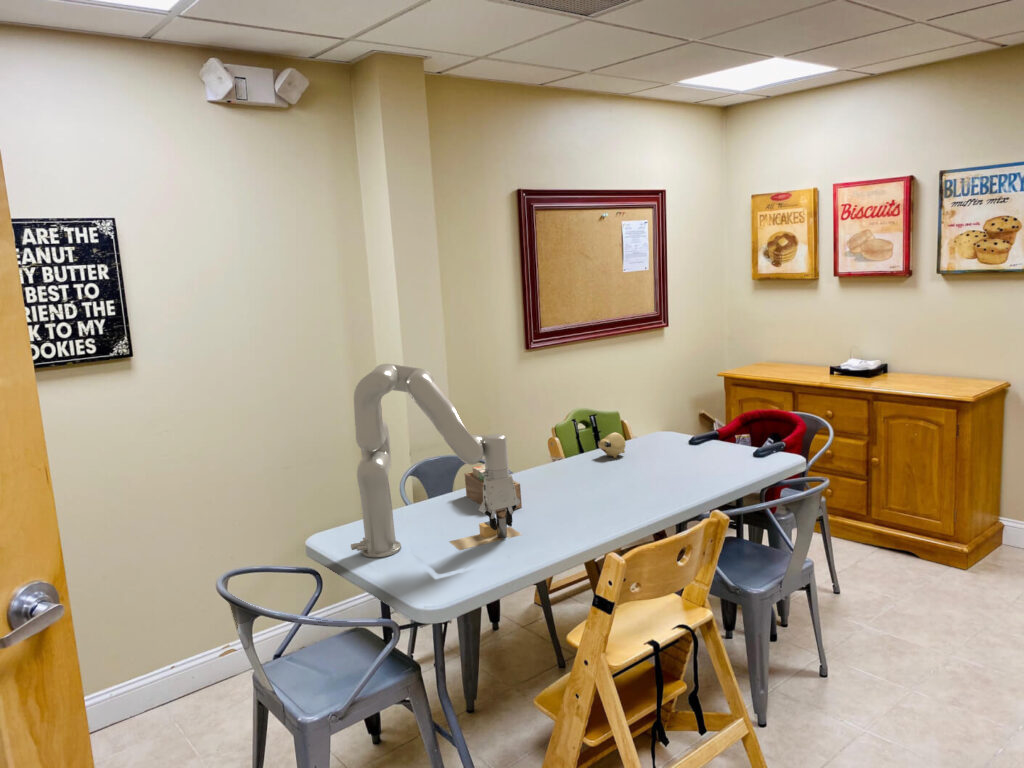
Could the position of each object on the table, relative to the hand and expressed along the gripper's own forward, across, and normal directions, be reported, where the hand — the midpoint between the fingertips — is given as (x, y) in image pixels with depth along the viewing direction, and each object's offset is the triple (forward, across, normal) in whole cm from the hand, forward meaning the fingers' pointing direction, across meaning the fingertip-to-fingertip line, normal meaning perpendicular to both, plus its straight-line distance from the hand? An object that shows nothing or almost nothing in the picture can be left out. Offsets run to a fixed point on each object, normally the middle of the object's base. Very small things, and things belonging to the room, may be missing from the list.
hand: (501, 526), depth 245 cm
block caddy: (+5, +14, +38) cm, 40 cm away
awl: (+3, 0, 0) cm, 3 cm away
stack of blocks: (+5, +13, +36) cm, 39 cm away
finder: (+3, -3, +5) cm, 6 cm away
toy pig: (+5, +83, +60) cm, 103 cm away
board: (+5, -5, +2) cm, 7 cm away
